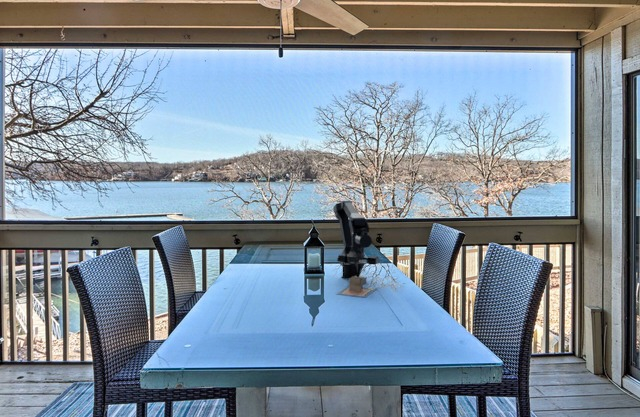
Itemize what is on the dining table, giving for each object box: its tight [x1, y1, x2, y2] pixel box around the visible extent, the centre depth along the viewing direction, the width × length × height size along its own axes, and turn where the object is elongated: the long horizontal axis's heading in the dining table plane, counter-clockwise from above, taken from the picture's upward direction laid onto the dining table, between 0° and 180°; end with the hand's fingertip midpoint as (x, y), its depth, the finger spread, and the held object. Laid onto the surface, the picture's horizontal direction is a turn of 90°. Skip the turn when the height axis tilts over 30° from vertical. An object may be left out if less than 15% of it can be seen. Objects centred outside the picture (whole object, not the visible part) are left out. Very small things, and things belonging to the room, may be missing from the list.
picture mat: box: [336, 285, 377, 299], centre depth 182 cm, size 13×15×1 cm
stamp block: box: [348, 276, 364, 294], centre depth 181 cm, size 4×4×6 cm
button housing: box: [363, 276, 367, 286], centre depth 195 cm, size 6×6×2 cm
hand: (358, 277), depth 195 cm, fingers closed, pressing on done button
